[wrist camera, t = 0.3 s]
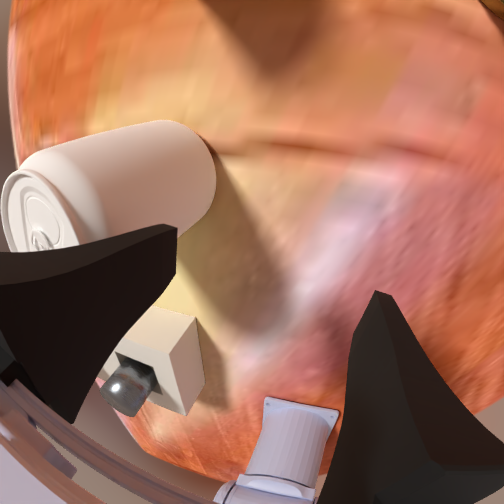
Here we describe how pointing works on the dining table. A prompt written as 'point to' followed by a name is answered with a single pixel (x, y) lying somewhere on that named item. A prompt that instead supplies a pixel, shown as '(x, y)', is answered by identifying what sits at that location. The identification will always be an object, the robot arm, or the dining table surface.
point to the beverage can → (108, 187)
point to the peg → (129, 386)
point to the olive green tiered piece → (495, 7)
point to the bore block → (164, 357)
